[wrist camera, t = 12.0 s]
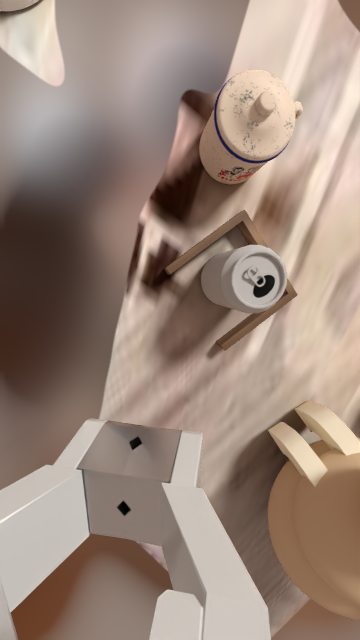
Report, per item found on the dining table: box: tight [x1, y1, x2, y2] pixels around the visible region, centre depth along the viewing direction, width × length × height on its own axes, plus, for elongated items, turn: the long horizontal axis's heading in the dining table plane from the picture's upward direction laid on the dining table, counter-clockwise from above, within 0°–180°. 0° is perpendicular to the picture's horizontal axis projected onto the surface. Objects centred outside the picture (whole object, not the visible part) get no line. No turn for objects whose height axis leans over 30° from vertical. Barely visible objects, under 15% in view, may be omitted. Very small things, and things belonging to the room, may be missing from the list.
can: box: [201, 245, 287, 313], centre depth 36 cm, size 8×8×12 cm
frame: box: [164, 210, 297, 350], centre depth 41 cm, size 14×13×2 cm
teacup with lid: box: [199, 70, 303, 184], centre depth 34 cm, size 12×9×12 cm
